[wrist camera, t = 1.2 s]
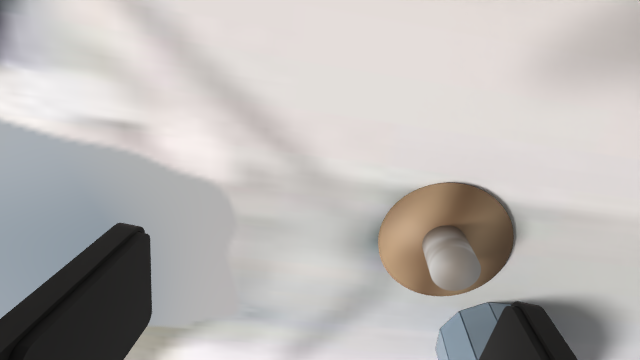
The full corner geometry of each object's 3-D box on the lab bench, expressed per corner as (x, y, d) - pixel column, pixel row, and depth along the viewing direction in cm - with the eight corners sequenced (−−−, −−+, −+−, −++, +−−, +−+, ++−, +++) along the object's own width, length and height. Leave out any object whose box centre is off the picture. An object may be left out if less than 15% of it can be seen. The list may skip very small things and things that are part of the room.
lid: (525, 186, 31) (553, 212, 27) (493, 296, 36) (512, 333, 31) (385, 176, 32) (390, 199, 27) (372, 284, 37) (374, 319, 32)
